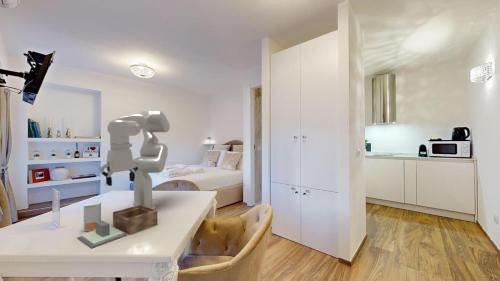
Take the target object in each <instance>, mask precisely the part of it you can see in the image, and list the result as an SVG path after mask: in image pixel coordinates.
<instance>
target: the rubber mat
mask: <svg viewBox="0 0 500 281" xmlns="http://www.w3.org/2000/svg"><path fill="white" fill-rule="evenodd" d="M123 233H124V235H122V236H120V237H117V238H114V239H111V240H109V241H106V242H103V243H100V244H98V245H95V246H93V245H92V244H90V243H89V242H87V241H86V240H85V239H83V238H82V237H81V235H80V236H78V237H76V239H77V240H78V241H80V242H81V243H83V244H84V245H86V246H87V247H88V248H90V249H94V248H97V247H100V246H102V245H104V244H107V243H110V242H113V241H115V240H118V239H122V238H123V237H126V236H128V234H127V233H125V232H123Z"/></svg>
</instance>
